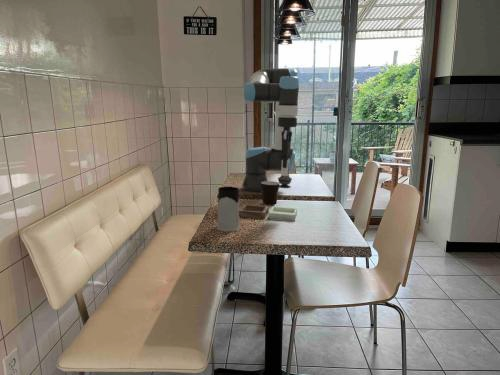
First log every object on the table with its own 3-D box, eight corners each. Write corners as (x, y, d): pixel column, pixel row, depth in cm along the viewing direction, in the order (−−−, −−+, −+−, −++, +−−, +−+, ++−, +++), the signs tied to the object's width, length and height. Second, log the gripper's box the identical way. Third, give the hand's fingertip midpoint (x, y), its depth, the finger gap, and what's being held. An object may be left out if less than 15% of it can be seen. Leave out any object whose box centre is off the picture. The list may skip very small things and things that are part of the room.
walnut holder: (244, 209, 167) (244, 204, 167) (268, 211, 165) (268, 206, 165) (238, 216, 157) (238, 210, 156) (264, 218, 155) (264, 212, 154)
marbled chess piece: (274, 186, 156) (275, 157, 154) (283, 184, 160) (284, 156, 158) (285, 189, 152) (286, 159, 150) (294, 187, 156) (296, 158, 154)
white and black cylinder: (214, 230, 138) (214, 190, 135) (222, 219, 152) (222, 183, 149) (237, 232, 137) (238, 191, 134) (243, 221, 151) (244, 184, 148)
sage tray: (272, 212, 165) (272, 206, 164) (296, 214, 163) (297, 208, 162) (268, 218, 155) (269, 212, 154) (294, 220, 153) (295, 215, 152)
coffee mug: (272, 206, 174) (272, 185, 172) (257, 203, 179) (257, 182, 177) (285, 202, 183) (286, 182, 181) (270, 199, 188) (271, 179, 186)
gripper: (280, 116, 159) (278, 171, 164) (275, 116, 143) (273, 177, 148) (298, 116, 158) (295, 172, 162) (295, 117, 142) (292, 178, 146)
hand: (285, 174), depth 155 cm, fingers closed on marbled chess piece, 4 cm apart
